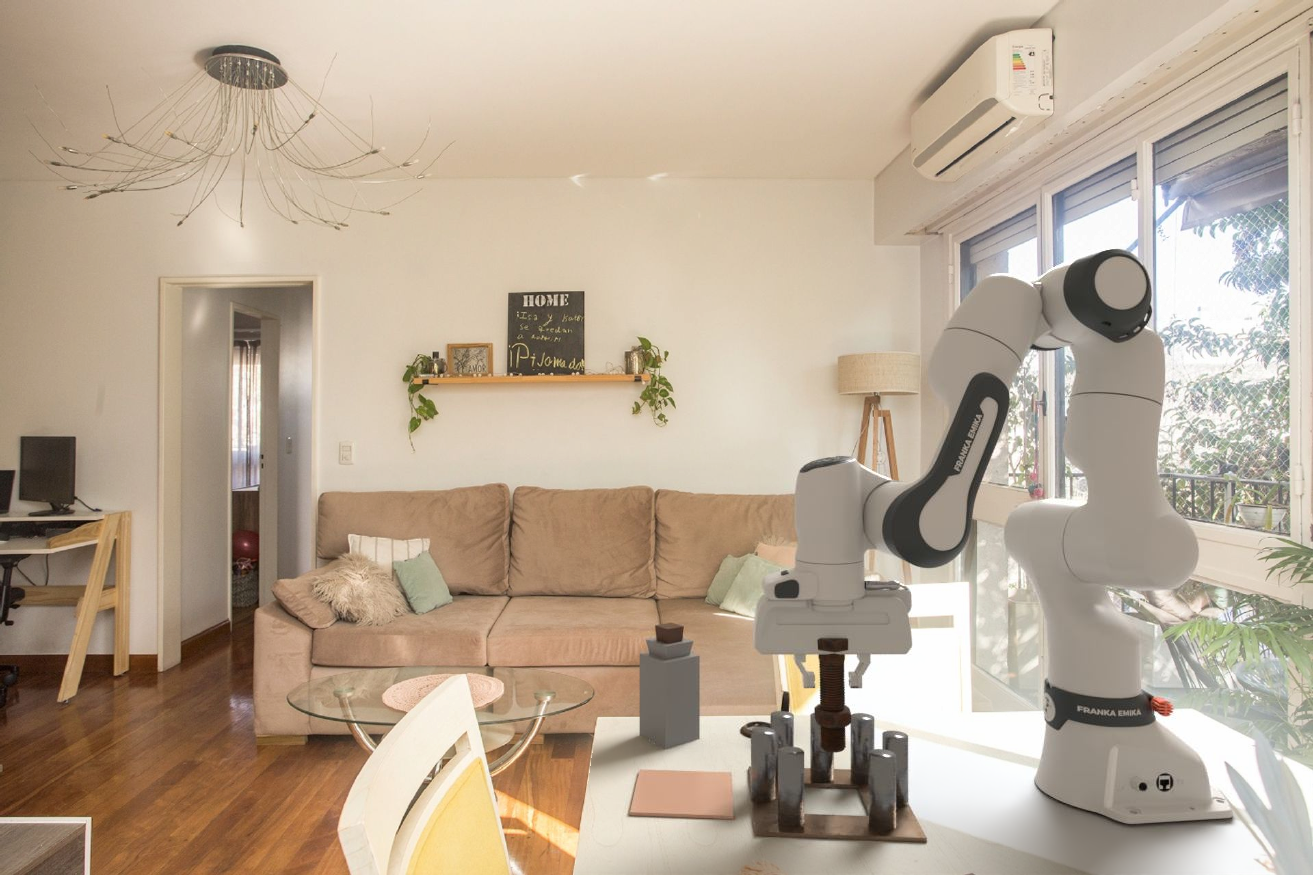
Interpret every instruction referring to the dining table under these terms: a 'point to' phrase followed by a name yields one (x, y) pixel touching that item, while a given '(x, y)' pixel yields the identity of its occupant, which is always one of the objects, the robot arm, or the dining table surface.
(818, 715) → the bolt
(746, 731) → the compass
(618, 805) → the dining table surface
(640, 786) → the pad
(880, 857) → the dining table surface
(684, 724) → the perfume bottle
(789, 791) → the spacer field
